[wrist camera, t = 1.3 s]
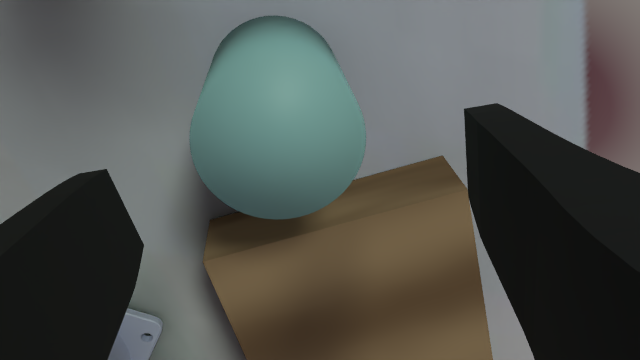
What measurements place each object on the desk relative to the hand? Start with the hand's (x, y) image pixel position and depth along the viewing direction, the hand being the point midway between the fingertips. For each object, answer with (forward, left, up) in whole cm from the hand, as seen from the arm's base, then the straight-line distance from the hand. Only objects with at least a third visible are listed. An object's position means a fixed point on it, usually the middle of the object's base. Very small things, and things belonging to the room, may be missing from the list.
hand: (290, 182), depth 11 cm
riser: (-8, -7, -10) cm, 14 cm away
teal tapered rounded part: (-1, 0, -10) cm, 10 cm away
